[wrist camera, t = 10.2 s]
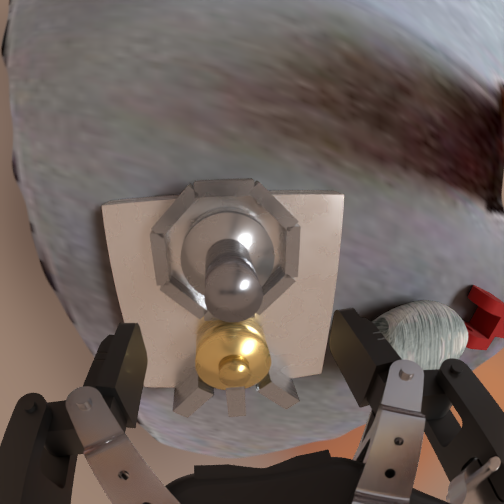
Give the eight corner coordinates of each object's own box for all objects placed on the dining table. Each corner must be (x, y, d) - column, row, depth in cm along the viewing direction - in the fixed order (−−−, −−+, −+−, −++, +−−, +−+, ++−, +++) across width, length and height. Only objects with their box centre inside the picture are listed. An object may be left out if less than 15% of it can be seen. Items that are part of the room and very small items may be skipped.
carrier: (108, 185, 20) (75, 200, 14) (334, 176, 22) (373, 187, 16) (150, 383, 27) (143, 427, 21) (313, 370, 29) (331, 411, 24)
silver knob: (179, 210, 19) (163, 241, 13) (270, 206, 20) (298, 235, 14) (187, 291, 22) (180, 349, 15) (268, 286, 23) (291, 341, 16)
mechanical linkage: (442, 327, 31) (464, 348, 27) (467, 281, 29) (492, 299, 25) (485, 336, 35) (502, 351, 31) (505, 300, 33) (523, 314, 28)
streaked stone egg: (338, 394, 27) (409, 421, 18) (337, 309, 28) (415, 313, 19) (412, 362, 32) (472, 371, 23) (412, 294, 33) (476, 291, 24)
